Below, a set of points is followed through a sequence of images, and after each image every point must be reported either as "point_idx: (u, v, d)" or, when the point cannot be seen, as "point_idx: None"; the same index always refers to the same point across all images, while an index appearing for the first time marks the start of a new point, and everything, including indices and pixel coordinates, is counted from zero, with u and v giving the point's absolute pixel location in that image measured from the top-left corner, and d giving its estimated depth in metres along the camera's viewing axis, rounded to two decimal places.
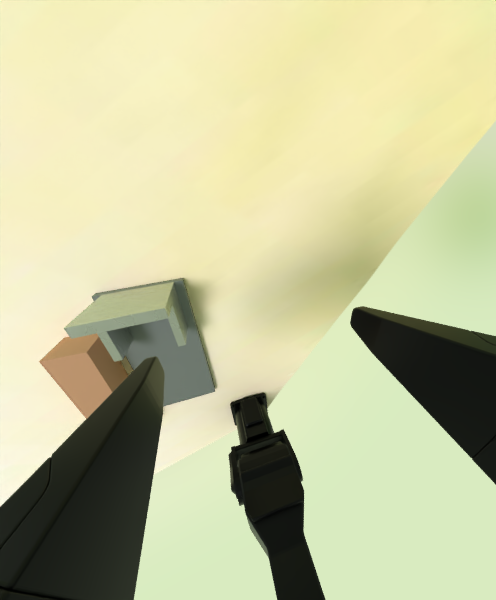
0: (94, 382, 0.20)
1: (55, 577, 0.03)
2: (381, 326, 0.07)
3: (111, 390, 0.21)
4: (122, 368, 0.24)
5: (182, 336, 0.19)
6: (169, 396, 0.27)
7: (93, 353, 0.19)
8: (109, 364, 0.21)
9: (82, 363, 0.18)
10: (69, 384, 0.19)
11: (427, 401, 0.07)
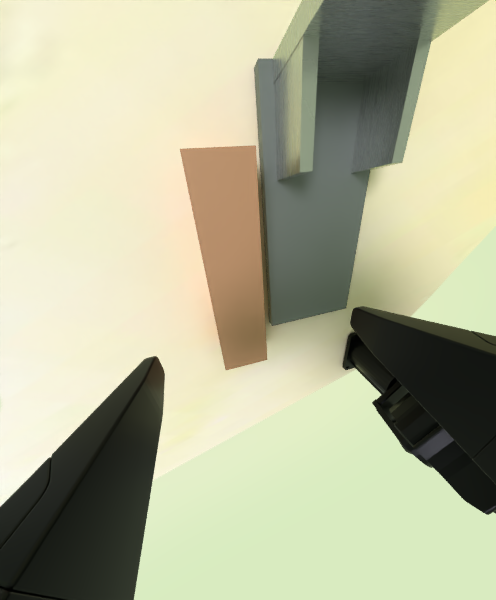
0: (245, 226, 0.12)
1: (56, 576, 0.03)
2: (381, 326, 0.07)
3: (260, 253, 0.13)
4: None
5: (406, 139, 0.11)
6: (294, 307, 0.19)
7: None
8: None
9: (241, 174, 0.10)
10: (209, 221, 0.11)
11: (427, 401, 0.07)
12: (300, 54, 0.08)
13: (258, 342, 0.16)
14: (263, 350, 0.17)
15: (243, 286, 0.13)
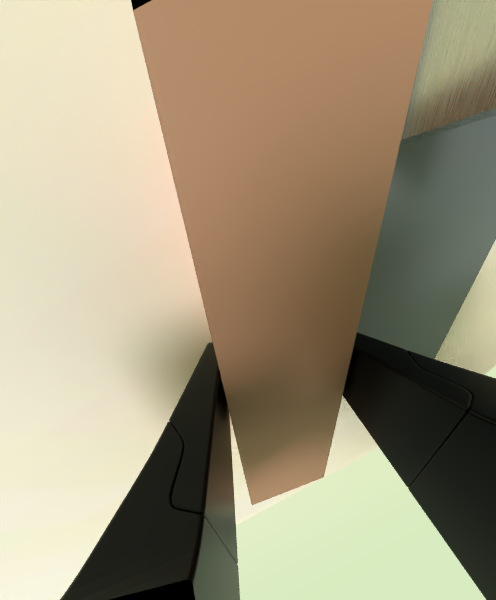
0: (338, 260, 0.04)
1: (214, 514, 0.03)
2: None
3: (356, 319, 0.05)
4: None
5: None
6: None
7: None
8: None
9: (364, 83, 0.03)
10: (239, 253, 0.03)
11: (370, 422, 0.06)
12: None
13: (315, 460, 0.09)
14: (321, 467, 0.09)
15: (305, 387, 0.06)
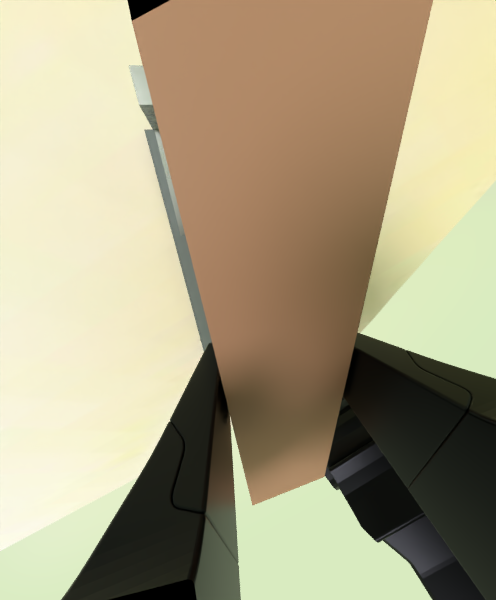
0: (338, 260, 0.04)
1: (215, 514, 0.03)
2: None
3: (356, 319, 0.05)
4: None
5: None
6: None
7: None
8: None
9: (365, 79, 0.03)
10: (238, 252, 0.03)
11: (369, 422, 0.06)
12: (157, 142, 0.09)
13: (316, 460, 0.09)
14: (321, 467, 0.09)
15: (306, 387, 0.06)
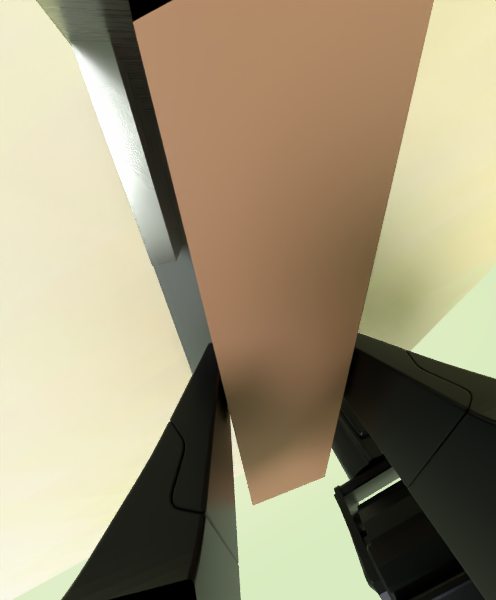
0: (338, 259, 0.04)
1: (215, 513, 0.03)
2: None
3: (357, 319, 0.05)
4: None
5: None
6: None
7: None
8: None
9: (366, 77, 0.03)
10: (238, 252, 0.03)
11: (369, 422, 0.06)
12: (85, 76, 0.04)
13: (316, 460, 0.09)
14: (321, 467, 0.09)
15: (306, 387, 0.06)
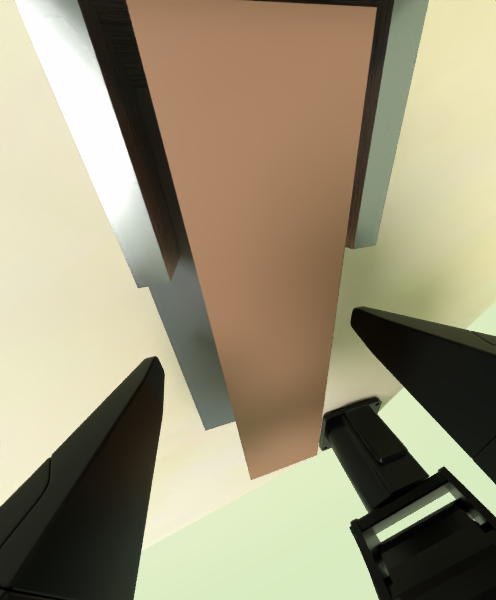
0: (313, 252, 0.05)
1: (55, 577, 0.03)
2: (381, 326, 0.07)
3: (334, 304, 0.06)
4: None
5: (381, 205, 0.05)
6: None
7: None
8: None
9: (323, 110, 0.04)
10: (229, 247, 0.04)
11: (427, 401, 0.07)
12: (21, 1, 0.03)
13: (307, 437, 0.09)
14: (313, 445, 0.10)
15: (293, 365, 0.07)
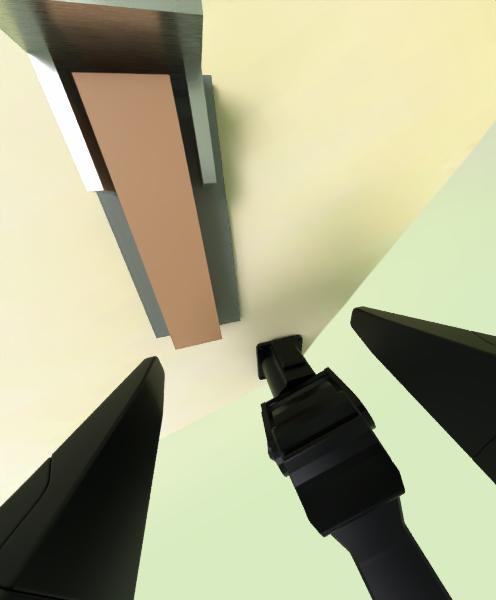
0: (172, 178, 0.10)
1: (56, 577, 0.03)
2: (381, 326, 0.07)
3: (196, 213, 0.11)
4: None
5: (212, 159, 0.11)
6: None
7: None
8: None
9: (157, 111, 0.09)
10: (126, 170, 0.10)
11: (427, 401, 0.07)
12: (37, 70, 0.08)
13: (209, 318, 0.15)
14: (216, 327, 0.15)
15: (181, 252, 0.12)
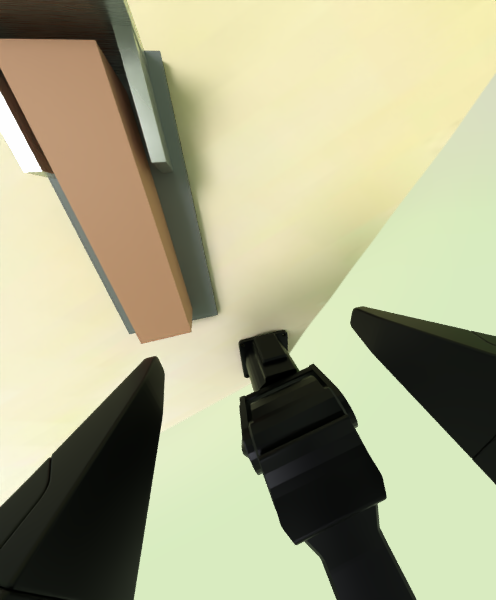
0: (113, 156, 0.10)
1: (56, 577, 0.03)
2: (381, 326, 0.07)
3: (145, 194, 0.11)
4: (157, 198, 0.14)
5: (158, 136, 0.10)
6: None
7: (109, 74, 0.09)
8: (138, 152, 0.11)
9: (87, 81, 0.08)
10: (61, 148, 0.09)
11: (427, 401, 0.07)
12: None
13: (174, 310, 0.14)
14: (183, 320, 0.15)
15: (133, 237, 0.11)
